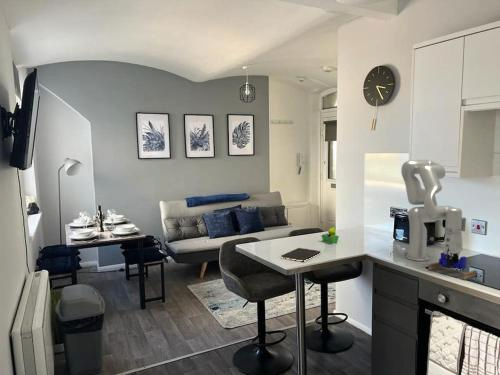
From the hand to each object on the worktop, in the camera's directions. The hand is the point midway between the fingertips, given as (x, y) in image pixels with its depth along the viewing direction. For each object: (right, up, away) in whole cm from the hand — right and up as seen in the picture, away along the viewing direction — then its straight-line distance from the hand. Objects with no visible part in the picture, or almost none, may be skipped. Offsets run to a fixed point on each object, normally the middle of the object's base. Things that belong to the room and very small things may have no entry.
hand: (452, 264), depth 202 cm
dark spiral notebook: (-76, -3, +38) cm, 85 cm away
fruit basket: (-50, +1, +72) cm, 87 cm away
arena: (0, -5, +1) cm, 5 cm away
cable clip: (0, -1, 0) cm, 1 cm away
